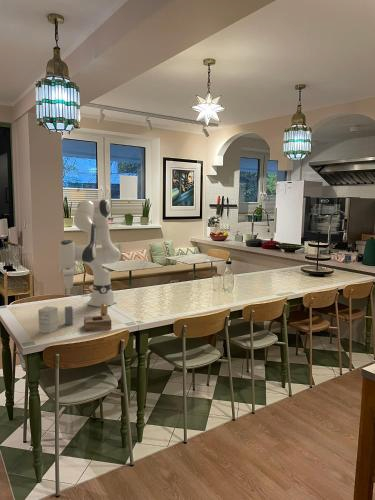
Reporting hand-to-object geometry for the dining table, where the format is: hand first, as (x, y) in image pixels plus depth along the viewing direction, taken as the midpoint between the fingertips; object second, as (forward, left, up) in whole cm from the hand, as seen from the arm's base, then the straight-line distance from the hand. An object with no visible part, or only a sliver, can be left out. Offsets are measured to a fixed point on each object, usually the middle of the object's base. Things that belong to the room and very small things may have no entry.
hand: (68, 293), depth 216 cm
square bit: (0, 0, -19) cm, 19 cm away
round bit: (0, +20, -19) cm, 27 cm away
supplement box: (+8, -11, -19) cm, 23 cm away
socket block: (+10, +15, -19) cm, 26 cm away
